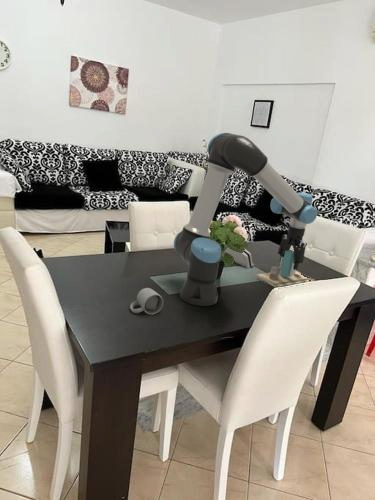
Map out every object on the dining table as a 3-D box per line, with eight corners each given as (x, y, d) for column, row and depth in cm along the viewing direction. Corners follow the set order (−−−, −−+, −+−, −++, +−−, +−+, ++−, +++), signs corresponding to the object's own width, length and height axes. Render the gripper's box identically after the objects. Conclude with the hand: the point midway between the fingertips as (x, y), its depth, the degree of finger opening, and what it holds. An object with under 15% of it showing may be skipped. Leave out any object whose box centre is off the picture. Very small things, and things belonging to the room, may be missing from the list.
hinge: (254, 266, 200) (254, 250, 195) (248, 271, 198) (247, 254, 192) (231, 256, 212) (229, 240, 206) (225, 259, 209) (223, 244, 204)
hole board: (274, 289, 175) (277, 274, 173) (253, 277, 186) (256, 263, 184) (315, 282, 191) (318, 268, 188) (293, 271, 201) (296, 258, 199)
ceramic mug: (152, 302, 146) (154, 284, 143) (162, 313, 139) (164, 293, 137) (126, 306, 140) (127, 287, 138) (135, 317, 134) (137, 297, 131)
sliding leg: (285, 278, 185) (291, 253, 181) (279, 275, 188) (285, 250, 184) (291, 277, 187) (297, 253, 183) (285, 274, 190) (291, 250, 186)
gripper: (319, 232, 174) (307, 279, 182) (287, 220, 189) (277, 264, 197) (308, 233, 170) (296, 281, 178) (276, 220, 185) (267, 265, 193)
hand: (286, 272), depth 187 cm, fingers open, 6 cm apart
